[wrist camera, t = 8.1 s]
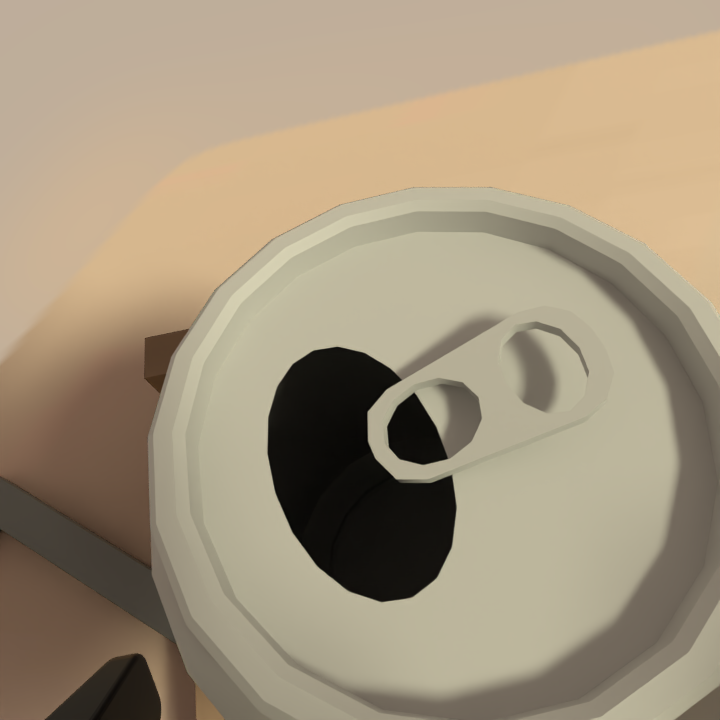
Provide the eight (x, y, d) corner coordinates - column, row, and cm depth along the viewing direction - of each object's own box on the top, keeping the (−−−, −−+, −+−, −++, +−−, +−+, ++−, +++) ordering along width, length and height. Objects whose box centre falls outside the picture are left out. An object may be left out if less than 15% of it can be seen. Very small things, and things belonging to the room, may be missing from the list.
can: (271, 500, 17) (37, 257, 7) (491, 411, 18) (579, 63, 8) (357, 780, 14) (142, 1145, 3) (626, 656, 15) (1148, 644, 4)
